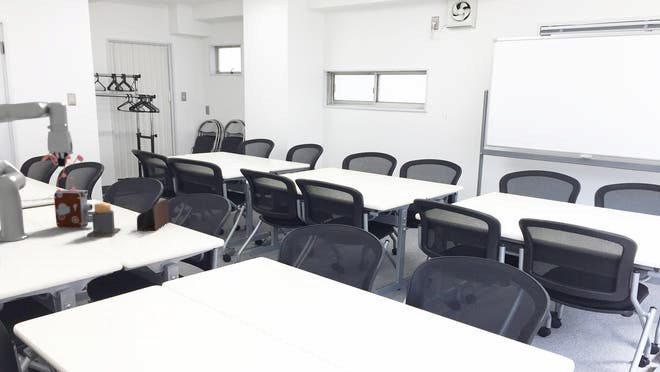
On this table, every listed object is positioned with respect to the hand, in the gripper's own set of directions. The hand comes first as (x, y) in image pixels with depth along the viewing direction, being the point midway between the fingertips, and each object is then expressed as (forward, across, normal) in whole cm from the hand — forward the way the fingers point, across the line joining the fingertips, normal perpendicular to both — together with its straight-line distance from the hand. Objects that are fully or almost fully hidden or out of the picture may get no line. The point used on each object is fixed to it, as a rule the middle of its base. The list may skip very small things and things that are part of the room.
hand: (62, 166), depth 246 cm
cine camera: (+35, -3, +18) cm, 40 cm away
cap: (+27, +16, +5) cm, 32 cm away
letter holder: (+36, +37, +19) cm, 54 cm away
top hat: (+35, +16, +5) cm, 39 cm away
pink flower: (+35, -50, +104) cm, 121 cm away
